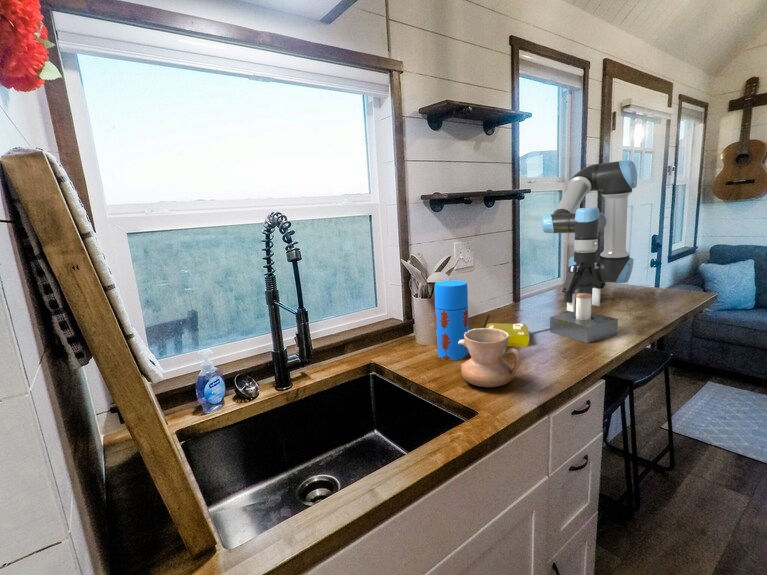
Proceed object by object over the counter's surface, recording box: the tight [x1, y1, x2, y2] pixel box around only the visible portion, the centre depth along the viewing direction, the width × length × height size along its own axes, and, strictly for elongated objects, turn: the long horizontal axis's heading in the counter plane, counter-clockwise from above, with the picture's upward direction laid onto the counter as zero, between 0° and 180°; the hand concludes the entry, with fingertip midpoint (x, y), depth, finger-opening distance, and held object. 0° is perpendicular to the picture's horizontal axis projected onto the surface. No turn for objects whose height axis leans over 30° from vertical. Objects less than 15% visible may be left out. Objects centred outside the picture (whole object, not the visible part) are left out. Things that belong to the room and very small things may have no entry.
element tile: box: [485, 322, 530, 348], centre depth 142 cm, size 15×15×5 cm
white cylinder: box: [575, 293, 592, 321], centre depth 142 cm, size 5×5×15 cm
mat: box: [516, 320, 550, 336], centre depth 153 cm, size 12×12×1 cm
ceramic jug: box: [458, 327, 522, 388], centre depth 107 cm, size 18×14×14 cm
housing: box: [549, 310, 619, 344], centre depth 143 cm, size 16×16×6 cm
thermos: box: [434, 279, 469, 361], centre depth 129 cm, size 11×11×25 cm
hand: (583, 308), depth 141 cm, fingers open, 13 cm apart
